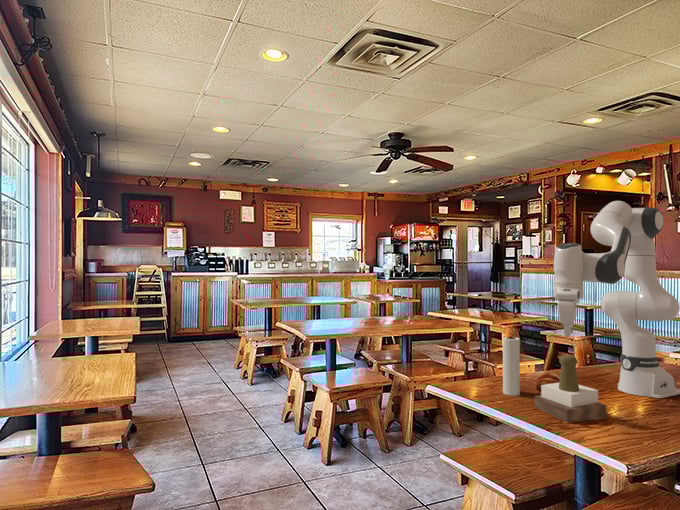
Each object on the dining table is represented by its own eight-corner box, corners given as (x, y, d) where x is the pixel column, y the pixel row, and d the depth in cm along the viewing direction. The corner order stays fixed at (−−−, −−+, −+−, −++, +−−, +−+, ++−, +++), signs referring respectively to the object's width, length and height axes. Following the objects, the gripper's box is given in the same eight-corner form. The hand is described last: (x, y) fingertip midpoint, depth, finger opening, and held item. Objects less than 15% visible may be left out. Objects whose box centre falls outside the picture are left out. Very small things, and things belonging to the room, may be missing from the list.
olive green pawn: (582, 392, 148) (581, 357, 148) (562, 391, 149) (561, 357, 149) (575, 386, 154) (574, 353, 154) (556, 386, 155) (555, 353, 155)
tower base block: (571, 406, 162) (571, 392, 162) (606, 421, 147) (606, 405, 147) (534, 410, 158) (534, 395, 158) (567, 425, 143) (567, 409, 143)
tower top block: (567, 392, 161) (567, 381, 161) (598, 402, 150) (598, 390, 150) (541, 396, 156) (541, 385, 156) (571, 407, 145) (571, 394, 145)
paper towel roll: (508, 397, 170) (508, 339, 170) (499, 392, 176) (499, 336, 176) (526, 396, 172) (525, 338, 172) (516, 391, 178) (516, 336, 178)
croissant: (554, 391, 187) (543, 373, 190) (577, 382, 181) (565, 363, 184) (533, 402, 172) (522, 382, 175) (557, 392, 166) (545, 371, 169)
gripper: (560, 290, 163) (561, 329, 163) (554, 294, 145) (555, 338, 145) (581, 290, 160) (581, 330, 160) (577, 294, 142) (577, 339, 142)
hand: (568, 334), depth 152 cm, fingers open, 8 cm apart
